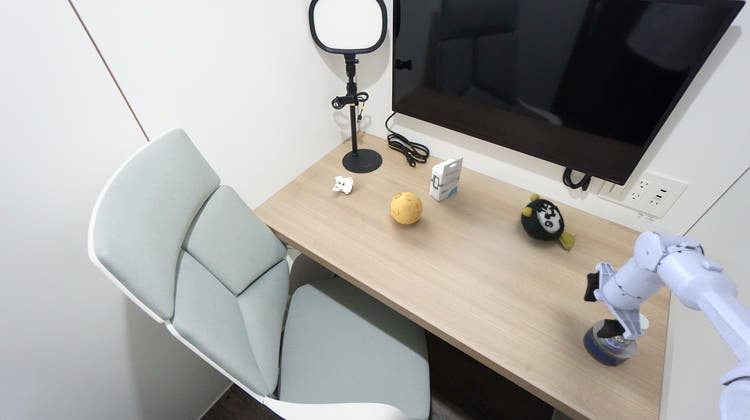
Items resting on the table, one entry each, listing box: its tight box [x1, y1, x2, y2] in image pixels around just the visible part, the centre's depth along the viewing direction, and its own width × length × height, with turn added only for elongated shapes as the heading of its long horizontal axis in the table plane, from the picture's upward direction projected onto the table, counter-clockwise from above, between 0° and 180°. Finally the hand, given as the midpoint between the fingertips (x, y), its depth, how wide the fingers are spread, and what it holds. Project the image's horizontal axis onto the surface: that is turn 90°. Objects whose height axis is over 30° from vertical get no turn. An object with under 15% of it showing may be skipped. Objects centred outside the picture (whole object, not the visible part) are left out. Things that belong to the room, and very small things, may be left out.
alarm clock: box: [520, 193, 576, 250], centre depth 90 cm, size 12×15×15 cm
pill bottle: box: [605, 312, 650, 349], centre depth 63 cm, size 5×5×8 cm
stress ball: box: [390, 191, 424, 225], centre depth 96 cm, size 10×10×10 cm
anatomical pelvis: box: [332, 175, 354, 195], centre depth 110 cm, size 8×4×7 cm
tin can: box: [582, 319, 638, 367], centre depth 68 cm, size 8×8×5 cm
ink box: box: [429, 157, 464, 202], centre depth 103 cm, size 8×5×15 cm, turn 124°
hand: (595, 317), depth 64 cm, fingers open, 7 cm apart
